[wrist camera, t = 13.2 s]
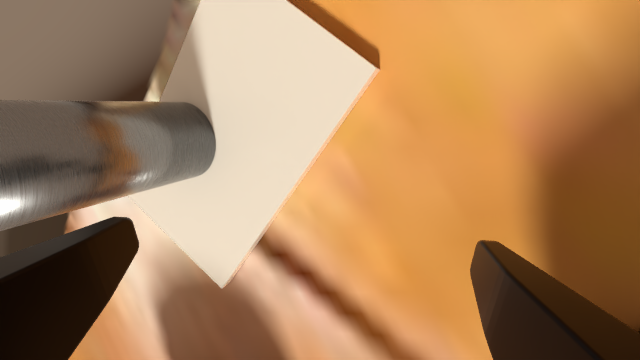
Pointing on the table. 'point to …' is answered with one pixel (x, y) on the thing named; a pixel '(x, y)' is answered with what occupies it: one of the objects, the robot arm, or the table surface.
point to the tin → (94, 153)
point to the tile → (252, 122)
